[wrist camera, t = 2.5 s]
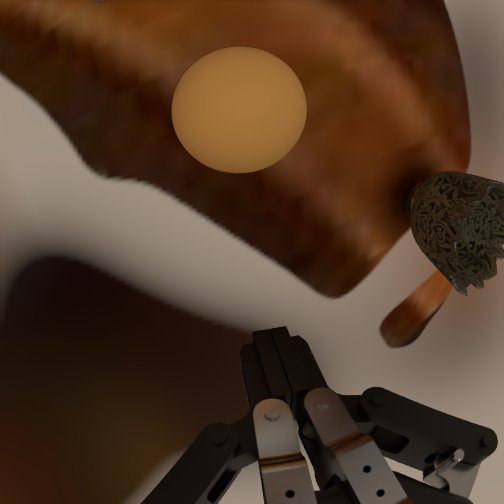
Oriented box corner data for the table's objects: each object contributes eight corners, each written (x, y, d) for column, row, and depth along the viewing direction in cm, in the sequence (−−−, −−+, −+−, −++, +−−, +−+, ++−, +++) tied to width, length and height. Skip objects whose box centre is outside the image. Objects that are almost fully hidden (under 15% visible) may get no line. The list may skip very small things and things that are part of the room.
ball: (173, 65, 12) (161, 36, 7) (282, 61, 13) (327, 37, 8) (180, 167, 15) (172, 195, 10) (284, 158, 16) (328, 182, 11)
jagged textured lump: (450, 156, 18) (526, 187, 11) (437, 236, 21) (499, 282, 14) (384, 149, 17) (475, 182, 10) (374, 246, 20) (440, 308, 13)
